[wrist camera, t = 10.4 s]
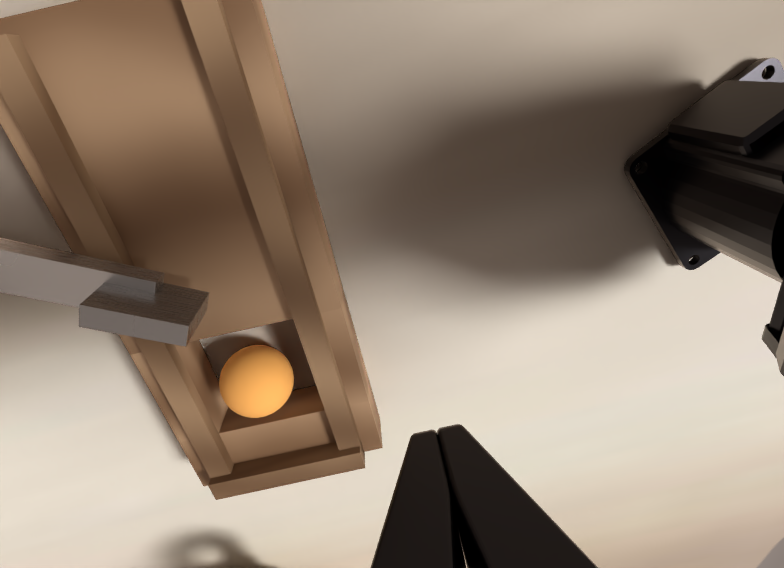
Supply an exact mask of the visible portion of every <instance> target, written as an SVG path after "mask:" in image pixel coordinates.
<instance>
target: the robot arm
mask: <svg viewBox="0 0 784 568" xmlns="http://www.w3.org/2000/svg"><path fill="white" fill-rule="evenodd" d="M765 67H766V73H765V75H764V76H763V77H762V72H763V70H764V68H765ZM640 162H642V167H641V169H640V170H639V171H637V172H636V171H635V168H636V166H637V164H638V163H640ZM624 171H625V174H626V176H627V177H628V179H629V181H630V182H631V184H632V186H633V188H634V189H635V191H636V193H637V194H638V196H639V198H640V199H641V201H642V203H643V204H644V206H645V208H646V209H647V211H648V213H649V215H650V216H651V218H652V220H653V221H654V223H655V225H656V226H657V228H658V230H659V231H660V233H661V235H662V236H663V238H664V240H665V242H666V243H667V245H668V247H669V248H670V250H671V252H672V253H673V255H674V257H675V258H676V260H677V262H678V263H679V264H680V265H681V266H682V267H684V268H686V269H688V270H694V269H696V268H698V267H700V266H701V265H703V264H704V263H706V262H707V261H709V260H710V259H712V258H713V257H715V256H716V255H717V254H719V253H720V252H721V253H723V254H725V255H727V256H729V257H731V258H733V259H735V260H737V261H739V262H741V263H743V264H745V265H747V266H749V267H751V268H753V269H755V270H757V271H759V272H761V273H763V274H765V275H767V276H769V277H771V278H773V279H775V280H777V281H779V282H781V283H782V284H781V287H780V291H779V294H778V297H777V301H776V304H775V307H774V311H773V314H772V318H771V321H770V324H766V325H765V329H764V332H763V335H762V340H763V341H764V343H765V344H766V345H767V347H768V348H769V349H770V350H771V352H772V353H773V354H774V356H775V357H776V358H777V362H778V366H779V370H780V372H781V374H782V375H783V376H784V70H783V68H782V65H781V63H780V61H779V60H778V59H776V58H762V59H759V60H757V61H755V62H754V63H753V64H751V65H750V66H749V67H748V68H746V69H745V70H744V71H742V72H741V73H740V74H738V75H737V76H736V77H734V78H733V79H732V80H726V81H724V82H722V83H721V84H720V85H718V86H717V87H716V88H714V89H713V90H712V91H711V92H709V93H708V94H707V95H705V96H704V97H703V98H701V99H700V100H699V101H697V102H696V103H695V104H694V105H692V106H691V107H690V108H688V109H687V110H686V111H684V112H683V113H682V114H681V115H679V116H678V117H677V118H675V119H674V120H673V121H671V122H670V124H669V125H668V127H667V129H666V130H665V131H664V132H662V133H661V134H660V135H659V136H657V137H656V138H655V139H653V140H652V141H651V142H649V143H648V144H647V145H645V146H644V147H643V148H642V149H640V150H639V151H638V152H636V153H635V154H634V155H632V156H631V157H630V158H629V159H628V160H627V162H626V164H625V167H624ZM693 255H694V256H693ZM691 256H693V258H692V259H691V260H690V261H689V258H690V257H691ZM462 548H463V549H462ZM463 552H464V554H463ZM464 557H465V559H464ZM465 561H466V564H467V568H598V567H597V566H596V565H595V564H594V563H593V562H592V561H591V560H590V559H589V558H588V557H587V556H586V554H585V553H584V552H583V551H582V550H581V549H580V548H579V547H578V546H577V545H576V544H575V543H574V542H573V541H572V540H571V539H570V538H569V537H568V536H567V535H566V534H565V532H564V531H563V530H562V529H561V528H560V527H559V526H558V525H557V524H556V523H555V522H554V521H553V520H552V519H551V518H550V517H549V516H548V515H547V514H546V513H545V511H544V510H543V509H542V508H541V507H540V506H539V505H538V504H537V503H536V502H535V501H534V500H533V499H532V498H531V497H530V496H529V495H528V494H527V493H526V492H525V491H524V489H523V488H522V487H521V486H520V485H519V484H518V483H517V482H516V481H515V480H514V479H513V478H512V477H511V476H510V475H509V474H508V473H507V472H506V471H505V470H504V468H503V467H502V466H501V465H500V464H499V463H498V462H497V461H496V460H495V459H494V458H493V457H492V456H491V455H490V454H489V453H488V452H487V451H486V450H485V449H484V448H483V446H482V445H481V444H480V443H479V442H478V441H477V440H476V439H475V438H474V437H473V436H472V435H471V434H470V433H469V432H468V431H467V430H466V429H465V428H464V427H463V426H462V425H460V424H456V425H452V426H447V427H442V428H439V429H438V431H437V432H436V431H435V430H428V431H423V432H419V433H414V434H413V435H412V436H411V438H410V441H409V444H408V447H407V451H406V454H405V457H404V461H403V464H402V467H401V470H400V474H399V477H398V480H397V483H396V487H395V490H394V493H393V496H392V500H391V503H390V506H389V509H388V513H387V516H386V519H385V523H384V526H383V529H382V532H381V536H380V539H379V542H378V545H377V549H376V552H375V555H374V558H373V562H372V565H371V568H466V564H465Z"/></svg>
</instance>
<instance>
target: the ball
mask: <svg viewBox="0 0 784 568" xmlns="http://www.w3.org/2000/svg"><path fill="white" fill-rule="evenodd" d="M293 382H294V375H293V370H292V367H291V365H290V363H289V361H288V359H287V358H286V357H285V356H284V355H283V354H282V353H281V352H280V351H278V350H276V349H275V348H272V347H269V346H266V345H252V346H248V347H245V348H242V349H240V350H239V351H237V352H235V353H234V354H233V355H232V356H231V357H230V358H229V359H228V360H227V362H226V363H225V365H224V366H223V368H222V371H221V374H220V380H219V388H220V393H221V396H222V398H223V400H224V402H225V403H226V405H227V406H228V407H229V408H230V409H231V410H232V411H234V412H235V413H237V414H239V415H241V416H245V417H250V418H259V417H264V416H268V415H270V414H272V413H274V412H276V411H277V410H278V409H280V408H281V407H282V406H283V405H284V404H285V402H286V401H287V400H288V398H289V396H290V394H291V392H292V388H293Z"/></svg>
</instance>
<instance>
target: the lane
mask: <svg viewBox="0 0 784 568" xmlns="http://www.w3.org/2000/svg"><path fill="white" fill-rule="evenodd" d="M0 124H1V125H2V127H3V129H4V131H5V133H6V134H7V136H8V138H9V140H10V141H11V143H12V145H13V147H14V149H15V150H16V152H17V154H18V156H19V158H20V159H21V161H22V163H23V165H24V166H25V168H26V170H27V172H28V174H29V175H30V177H31V179H32V181H33V182H34V184H35V186H36V188H37V190H38V191H39V193H40V195H41V197H42V199H43V200H44V202H45V204H46V206H47V207H48V209H49V211H50V213H51V215H52V216H53V218H54V220H55V222H56V224H57V225H58V227H59V229H60V231H61V232H62V234H63V236H64V238H65V240H66V241H67V243H68V245H69V247H70V249H71V250H72V252H73V253H75V254H80V255H84V256H89V257H94V258H98V259H103V260H108V261H112V262H117V263H121V264H126V265H131V266H135V267H140V268H145V269H149V270H154V271H158V272H163V273H164V283H168V284H172V285H177V286H182V287H186V288H191V289H196V290H201V291H205V292H210V293H209V300H208V307H207V312H206V313H205V315H204V317H203V319H202V320H201V322H200V324H199V325H198V327H197V329H196V331H195V332H194V334H193V336H192V337H191V339H190V341H189V343H188V344H187V346H186V347H185V346H179V345H174V344H169V343H163V342H158V341H153V340H147V339H142V338H137V337H131V336H126V335H121V334H119V336H120V338H121V340H122V341H123V343H124V345H125V347H126V348H127V350H128V352H129V354H130V356H131V357H132V359H133V361H134V363H135V365H136V366H137V368H138V370H139V372H140V373H141V375H142V377H143V379H144V381H145V382H146V384H147V386H148V388H149V390H150V391H151V393H152V395H153V397H154V398H155V400H156V402H157V404H158V406H159V407H160V409H161V411H162V413H163V415H164V416H165V418H166V420H167V422H168V423H169V425H170V427H171V429H172V431H173V432H174V434H175V436H176V438H177V440H178V441H179V443H180V445H181V447H182V448H183V450H184V452H185V454H186V456H187V457H188V459H189V461H190V463H191V465H192V466H193V468H194V470H195V472H196V473H197V475H198V477H199V479H200V481H201V482H202V484H203V486H207V485H208V486H209V488H210V490H211V492H212V493H213V495H214V497H215V499H216V500H218V499H223V498H227V497H232V496H237V495H241V494H246V493H250V492H255V491H260V490H264V489H269V488H274V487H278V486H283V485H288V484H292V483H297V482H302V481H306V480H311V479H316V478H320V477H325V476H330V475H334V474H339V473H343V472H348V471H353V470H357V469H362V468H365V454H364V452H365V451H370V450H374V449H379V448H382V437H381V425H380V417H379V414H378V410H377V407H376V403H375V400H374V396H373V393H372V389H371V386H370V382H369V379H368V375H367V372H366V368H365V365H364V361H363V358H362V354H361V350H360V347H359V343H358V340H357V336H356V333H355V329H354V326H353V322H352V319H351V315H350V312H349V308H348V305H347V301H346V298H345V294H344V291H343V287H342V284H341V280H340V276H339V273H338V269H337V266H336V262H335V259H334V255H333V252H332V248H331V245H330V241H329V238H328V234H327V231H326V227H325V224H324V220H323V217H322V213H321V210H320V206H319V202H318V199H317V195H316V192H315V188H314V185H313V181H312V178H311V174H310V171H309V167H308V164H307V160H306V157H305V153H304V150H303V146H302V143H301V139H300V136H299V132H298V128H297V125H296V121H295V118H294V114H293V111H292V107H291V104H290V100H289V97H288V93H287V90H286V86H285V83H284V79H283V76H282V72H281V69H280V65H279V62H278V58H277V54H276V51H275V47H274V44H273V40H272V37H271V33H270V30H269V26H268V23H267V19H266V16H265V12H264V9H263V5H262V2H261V0H78V1H74V2H69V3H65V4H61V5H57V6H52V7H48V8H44V9H39V10H35V11H31V12H26V13H22V14H18V15H14V16H9V17H5V18H1V19H0ZM291 319H293V321H294V324H295V326H296V329H297V332H298V335H299V338H300V341H301V344H302V346H303V349H304V352H305V355H306V358H307V361H308V363H309V366H310V369H311V372H312V375H313V378H314V381H315V383H316V386H312V387H307V388H303V389H298V390H293V391H292V392H291V394H290V396H289V398H288V400H287V401H286V402H285V404H284V405H283V406H282V407H281V408H280V409H278V410H277V411H276V412H274V413H272V414H270V415H268V416H264V417H259V418H250V417H245V416H241V415H239V414H237V413H235V412H234V411H232V410H231V409H230V408H229V407H228V406H227V405H226V403H225V402H224V400H223V398H222V396H221V393H220V388H219V382H218V380H217V378H216V375H215V373H214V371H213V369H212V367H211V365H210V363H209V361H208V358H207V356H206V354H205V352H204V350H203V348H202V346H201V343H200V341H199V340H200V339H204V338H209V337H213V336H218V335H222V334H227V333H232V332H236V331H241V330H245V329H250V328H254V327H259V326H263V325H268V324H272V323H277V322H281V321H286V320H291Z"/></svg>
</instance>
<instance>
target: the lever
mask: <svg viewBox="0 0 784 568" xmlns="http://www.w3.org/2000/svg"><path fill="white" fill-rule="evenodd" d="M0 292H1V293H6V294H11V295H16V296H21V297H26V298H31V299H37V300H42V301H47V302H52V303H57V304H62V305H67V306H72V307H78V308H79V327H83V328H89V329H94V330H99V331H105V332H110V333H115V334H121V335H126V336H131V337H137V338H142V339H147V340H153V341H158V342H163V343H169V344H174V345H179V346H185V347H186V346H187V344H188V343H189V341H190V339H191V337H192V336H193V334H194V332H195V331H196V329H197V327H198V325H199V324H200V322H201V320H202V319H203V317H204V315H205V313H206V312H207V307H208V300H209V293H210V292H205V291H201V290H196V289H191V288H186V287H182V286H177V285H172V284H168V283H164V273H163V272H158V271H154V270H149V269H145V268H140V267H135V266H131V265H126V264H121V263H117V262H112V261H108V260H103V259H98V258H94V257H89V256H84V255H80V254H75V253H70V252H66V251H61V250H57V249H52V248H47V247H43V246H38V245H33V244H29V243H24V242H19V241H15V240H10V239H6V238H1V237H0Z"/></svg>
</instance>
